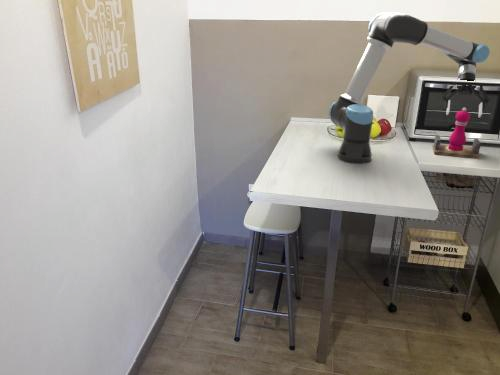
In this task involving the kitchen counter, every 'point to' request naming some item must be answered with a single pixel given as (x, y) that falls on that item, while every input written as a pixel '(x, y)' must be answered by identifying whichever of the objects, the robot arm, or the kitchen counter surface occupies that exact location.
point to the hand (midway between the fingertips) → (463, 114)
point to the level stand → (466, 152)
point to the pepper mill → (459, 131)
